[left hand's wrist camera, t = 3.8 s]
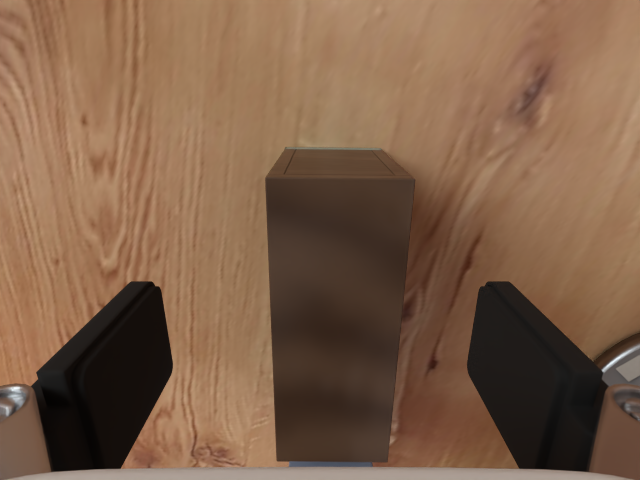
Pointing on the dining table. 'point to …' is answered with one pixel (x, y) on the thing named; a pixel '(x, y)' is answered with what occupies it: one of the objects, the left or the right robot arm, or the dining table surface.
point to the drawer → (330, 464)
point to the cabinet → (336, 299)
